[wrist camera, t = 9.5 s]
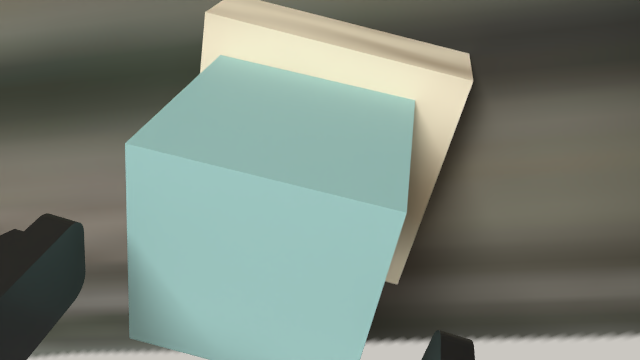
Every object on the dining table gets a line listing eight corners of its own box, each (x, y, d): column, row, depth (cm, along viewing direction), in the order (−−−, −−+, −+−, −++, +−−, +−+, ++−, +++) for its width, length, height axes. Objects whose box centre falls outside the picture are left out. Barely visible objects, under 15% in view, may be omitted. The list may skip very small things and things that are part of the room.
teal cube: (220, 54, 16) (125, 143, 11) (415, 100, 16) (406, 212, 11) (208, 213, 20) (129, 337, 15) (370, 254, 19) (348, 397, 14)
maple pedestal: (237, -10, 18) (205, 12, 16) (468, 49, 18) (473, 81, 15) (215, 184, 23) (187, 225, 20) (402, 235, 22) (397, 284, 20)
